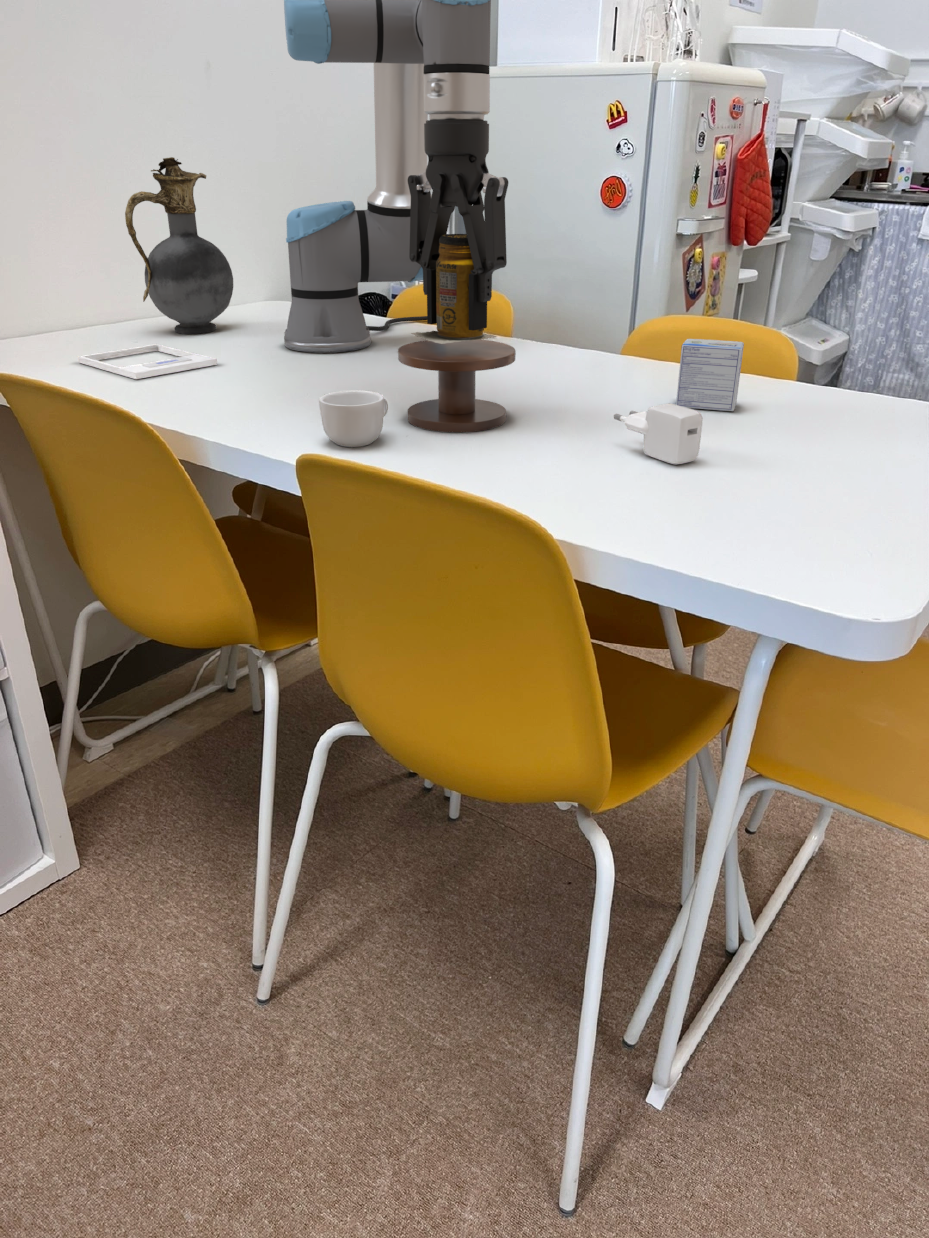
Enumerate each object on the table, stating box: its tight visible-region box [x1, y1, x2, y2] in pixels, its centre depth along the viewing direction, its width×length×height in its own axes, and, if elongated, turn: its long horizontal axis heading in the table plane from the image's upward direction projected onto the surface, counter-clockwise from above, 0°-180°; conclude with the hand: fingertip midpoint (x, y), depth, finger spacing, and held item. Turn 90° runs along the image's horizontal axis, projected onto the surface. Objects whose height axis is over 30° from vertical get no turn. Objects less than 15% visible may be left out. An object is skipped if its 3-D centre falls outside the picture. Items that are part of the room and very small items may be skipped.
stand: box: [397, 339, 517, 434], centre depth 122 cm, size 15×15×9 cm
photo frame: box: [76, 343, 218, 380], centre depth 153 cm, size 15×1×18 cm
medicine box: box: [675, 338, 745, 412], centre depth 128 cm, size 8×4×9 cm, turn 71°
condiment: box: [410, 233, 498, 344], centre depth 116 cm, size 7×8×12 cm
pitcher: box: [124, 156, 234, 335], centre depth 172 cm, size 11×19×30 cm, turn 139°
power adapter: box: [613, 403, 704, 465], centre depth 109 cm, size 11×5×6 cm, turn 35°
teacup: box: [318, 389, 389, 448], centre depth 113 cm, size 10×8×5 cm
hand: (456, 325), depth 118 cm, fingers closed on condiment, 6 cm apart
